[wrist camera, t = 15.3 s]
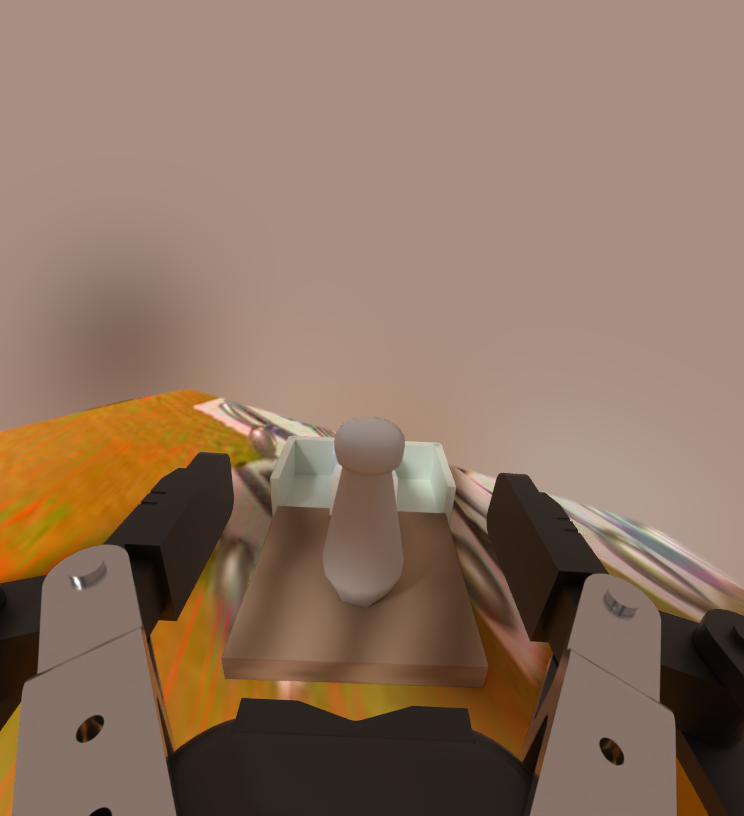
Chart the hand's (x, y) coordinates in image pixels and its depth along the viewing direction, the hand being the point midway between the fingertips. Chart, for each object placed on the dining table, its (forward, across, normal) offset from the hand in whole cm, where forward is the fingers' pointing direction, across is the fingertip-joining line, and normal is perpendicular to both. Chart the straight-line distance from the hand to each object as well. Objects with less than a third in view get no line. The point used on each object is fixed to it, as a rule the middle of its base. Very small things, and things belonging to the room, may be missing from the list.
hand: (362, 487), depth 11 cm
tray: (+22, -1, +19) cm, 29 cm away
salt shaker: (+10, -1, +16) cm, 19 cm away
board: (+11, -1, +18) cm, 22 cm away
